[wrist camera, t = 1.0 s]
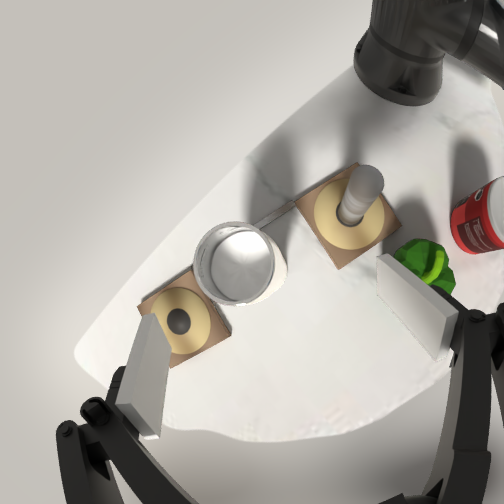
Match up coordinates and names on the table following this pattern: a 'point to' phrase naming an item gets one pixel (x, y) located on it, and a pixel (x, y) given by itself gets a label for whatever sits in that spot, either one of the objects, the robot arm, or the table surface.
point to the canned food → (480, 219)
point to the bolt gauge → (310, 205)
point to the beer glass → (238, 264)
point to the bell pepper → (427, 263)
